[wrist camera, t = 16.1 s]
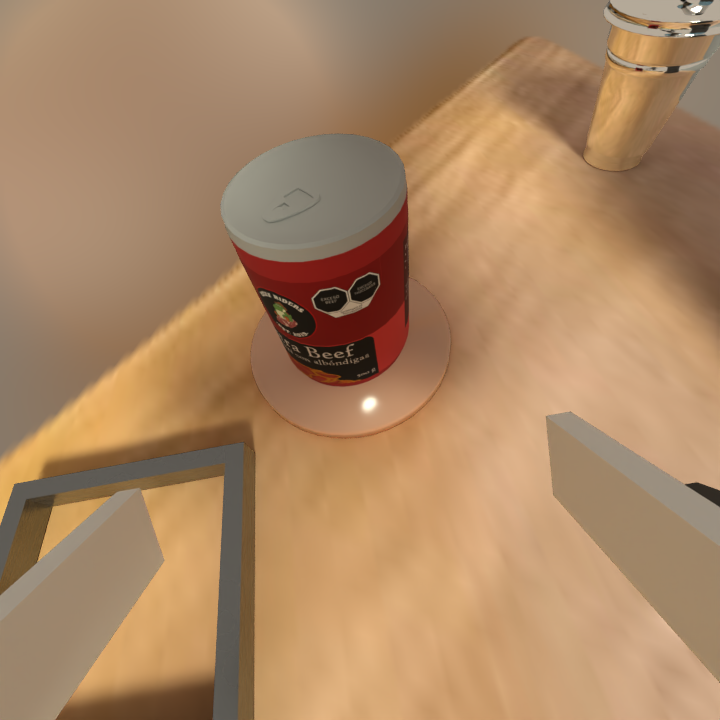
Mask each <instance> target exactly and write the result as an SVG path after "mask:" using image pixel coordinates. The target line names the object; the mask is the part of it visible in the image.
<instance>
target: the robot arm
mask: <svg viewBox="0 0 720 720" xmlns="http://www.w3.org/2000/svg"><path fill="white" fill-rule="evenodd" d="M546 423H547V434H548V445H549V455H550V466H551V477H552V487H553V495H554V496H555V498H556V499H557V500H558V501H559V502H560V503H561V504H562V505H563V507H564V508H565V509H566V510H567V511H568V512H569V513H570V514H571V516H572V517H573V518H574V519H575V520H576V521H577V522H578V523H579V525H580V526H581V527H582V528H583V529H584V530H585V531H586V532H587V534H588V535H589V536H590V537H591V538H592V539H593V540H594V541H595V543H596V544H597V545H598V546H599V547H600V548H601V549H602V550H603V552H604V553H605V554H606V555H607V556H608V557H609V558H610V560H611V561H612V562H613V563H614V564H615V565H616V566H617V567H618V569H619V570H620V571H621V572H622V573H623V574H624V575H625V576H626V578H627V579H628V580H629V581H630V582H631V583H632V584H633V585H634V587H635V588H636V589H637V590H638V591H639V592H640V593H641V594H642V596H643V597H644V598H645V599H646V600H647V601H648V602H649V603H650V605H651V606H652V607H653V608H654V609H655V610H656V611H657V612H658V614H659V615H660V616H661V617H662V618H663V619H664V620H665V622H666V623H667V624H668V625H669V626H670V627H671V628H672V629H673V631H674V632H675V633H676V634H677V635H678V636H679V637H680V638H681V640H682V641H683V642H684V643H685V644H686V645H687V646H688V647H689V649H690V650H691V651H692V652H693V653H694V654H695V655H696V656H697V658H698V659H699V660H700V661H701V662H702V663H703V664H704V665H705V667H706V668H707V669H708V670H709V671H710V672H711V673H712V674H713V676H714V677H715V678H716V679H717V680H718V681H719V682H720V490H717V489H714V488H711V487H708V486H706V485H703V484H700V483H691V484H685V485H684V484H683V483H681V482H680V481H678V480H676V479H675V478H673V477H672V476H670V475H669V474H667V473H666V472H664V471H662V470H661V469H659V468H658V467H656V466H655V465H653V464H651V463H650V462H648V461H647V460H645V459H644V458H642V457H641V456H639V455H637V454H636V453H634V452H633V451H631V450H630V449H628V448H626V447H625V446H623V445H622V444H620V443H619V442H617V441H616V440H614V439H612V438H611V437H609V436H608V435H606V434H605V433H603V432H601V431H600V430H598V429H597V428H595V427H594V426H592V425H591V424H589V423H587V422H586V421H584V420H583V419H581V418H580V417H578V416H576V415H575V414H573V413H572V412H566V413H560V414H555V415H549V416H546ZM163 562H164V558H163V555H162V552H161V549H160V546H159V543H158V540H157V537H156V534H155V531H154V528H153V525H152V522H151V519H150V516H149V513H148V510H147V507H146V504H145V502H144V499H143V496H142V493H141V490H140V488H136V489H130V490H124V491H119V492H116V493H115V494H114V495H113V496H112V497H111V498H110V499H108V500H107V501H106V502H105V503H104V504H103V505H102V506H101V507H99V508H98V509H97V510H96V511H95V512H94V513H93V514H91V515H90V516H89V517H88V518H87V519H86V520H85V521H84V522H82V523H81V524H80V525H79V526H78V527H77V528H76V529H75V530H73V531H72V532H71V533H70V534H69V535H68V536H67V537H66V538H64V539H63V540H62V541H61V542H60V543H59V544H58V545H57V546H55V547H54V548H53V549H52V550H51V551H50V552H49V553H48V554H46V555H45V556H44V557H43V558H42V559H41V560H40V561H39V562H37V563H36V564H35V565H34V566H33V567H32V568H31V569H30V570H28V571H27V572H26V573H25V574H24V575H23V576H22V577H21V578H19V579H18V580H17V581H16V582H15V583H14V584H13V585H11V586H10V587H9V588H8V589H7V590H6V591H5V592H4V593H2V594H1V595H0V720H55V719H56V718H57V716H58V715H59V713H60V712H61V711H62V709H63V708H64V706H65V705H66V703H67V702H68V700H69V699H70V697H71V696H72V695H73V693H74V692H75V690H76V689H77V687H78V686H79V684H80V683H81V681H82V680H83V679H84V677H85V676H86V674H87V673H88V671H89V670H90V668H91V667H92V665H93V664H94V663H95V661H96V660H97V658H98V657H99V655H100V654H101V652H102V651H103V649H104V648H105V647H106V645H107V644H108V642H109V641H110V639H111V638H112V636H113V635H114V633H115V632H116V630H117V629H118V628H119V626H120V625H121V623H122V622H123V620H124V619H125V617H126V616H127V614H128V613H129V612H130V610H131V609H132V607H133V606H134V604H135V603H136V601H137V600H138V598H139V597H140V596H141V594H142V593H143V591H144V590H145V588H146V587H147V585H148V584H149V582H150V581H151V580H152V578H153V577H154V575H155V574H156V572H157V571H158V569H159V568H160V566H161V565H162V564H163Z"/></svg>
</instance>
